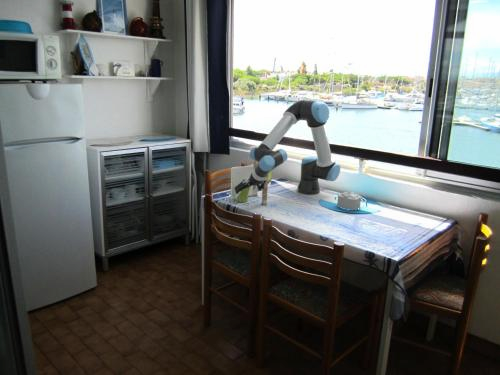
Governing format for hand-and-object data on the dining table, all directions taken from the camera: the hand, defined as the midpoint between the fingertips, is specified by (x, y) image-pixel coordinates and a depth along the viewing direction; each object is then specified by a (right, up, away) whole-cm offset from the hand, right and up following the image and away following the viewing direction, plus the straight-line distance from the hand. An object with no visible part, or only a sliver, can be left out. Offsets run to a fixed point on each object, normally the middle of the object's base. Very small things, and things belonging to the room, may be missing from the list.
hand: (244, 194), depth 241 cm
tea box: (+9, +5, +40) cm, 41 cm away
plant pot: (-2, -4, +7) cm, 9 cm away
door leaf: (-2, -1, +14) cm, 14 cm away
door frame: (+9, -3, +10) cm, 14 cm away
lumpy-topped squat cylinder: (+61, -8, +1) cm, 62 cm away
